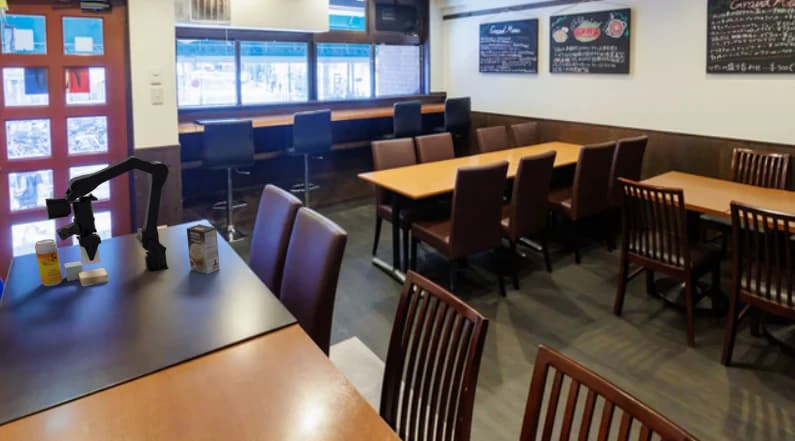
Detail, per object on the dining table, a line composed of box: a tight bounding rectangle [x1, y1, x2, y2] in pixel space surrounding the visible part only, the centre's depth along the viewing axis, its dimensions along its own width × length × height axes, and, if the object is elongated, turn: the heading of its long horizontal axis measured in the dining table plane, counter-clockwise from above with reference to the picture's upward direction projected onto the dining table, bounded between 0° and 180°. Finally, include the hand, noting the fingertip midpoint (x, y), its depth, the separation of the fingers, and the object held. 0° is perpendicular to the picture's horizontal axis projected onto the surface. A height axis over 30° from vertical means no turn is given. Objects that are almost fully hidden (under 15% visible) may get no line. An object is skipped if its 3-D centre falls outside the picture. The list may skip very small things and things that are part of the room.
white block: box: [78, 244, 101, 266], centre depth 185 cm, size 5×5×6 cm
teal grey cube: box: [64, 260, 84, 282], centre depth 189 cm, size 5×5×5 cm
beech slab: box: [78, 267, 109, 287], centre depth 187 cm, size 8×8×3 cm
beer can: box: [34, 239, 63, 287], centre depth 182 cm, size 6×6×15 cm
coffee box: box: [186, 224, 221, 275], centre depth 196 cm, size 9×6×16 cm
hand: (90, 258), depth 185 cm, fingers closed on white block, 5 cm apart
